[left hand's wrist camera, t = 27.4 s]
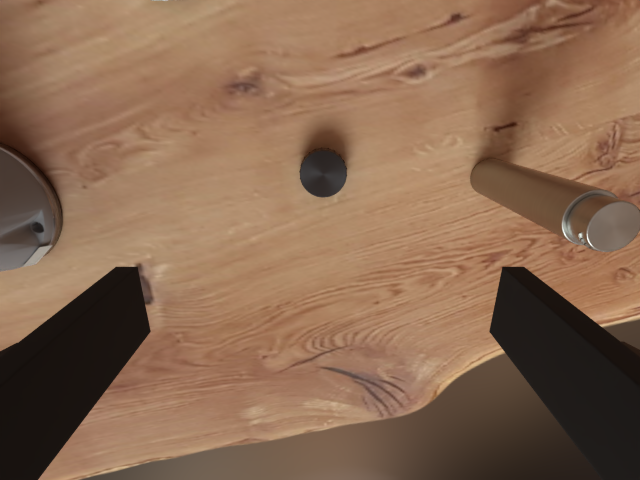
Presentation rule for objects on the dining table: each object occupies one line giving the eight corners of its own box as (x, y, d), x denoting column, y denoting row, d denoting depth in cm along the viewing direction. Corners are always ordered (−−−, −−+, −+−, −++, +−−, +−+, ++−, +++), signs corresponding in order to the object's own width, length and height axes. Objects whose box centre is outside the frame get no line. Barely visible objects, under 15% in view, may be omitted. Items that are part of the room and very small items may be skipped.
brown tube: (477, 200, 41) (590, 266, 24) (464, 169, 40) (574, 215, 23) (511, 183, 40) (653, 239, 23) (500, 151, 39) (641, 185, 22)
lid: (344, 146, 39) (346, 148, 37) (346, 191, 41) (348, 196, 39) (298, 149, 39) (297, 151, 37) (302, 194, 41) (301, 199, 39)
